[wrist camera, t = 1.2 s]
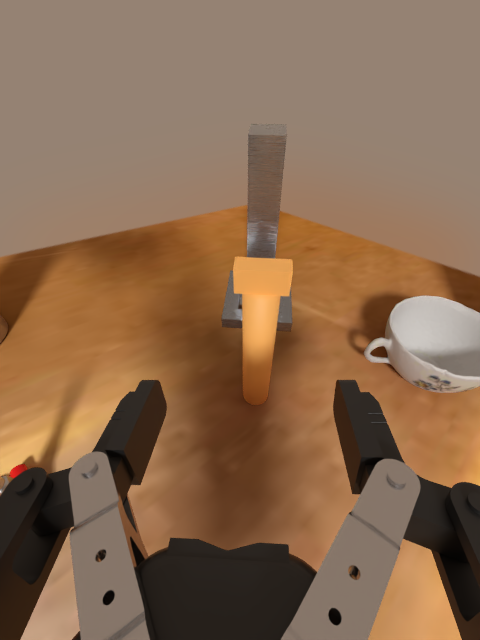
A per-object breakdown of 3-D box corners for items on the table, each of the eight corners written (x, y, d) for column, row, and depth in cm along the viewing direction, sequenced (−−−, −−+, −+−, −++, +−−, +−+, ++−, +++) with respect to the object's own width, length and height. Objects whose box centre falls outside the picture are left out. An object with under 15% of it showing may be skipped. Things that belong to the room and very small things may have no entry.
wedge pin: (236, 403, 36) (231, 276, 21) (239, 380, 38) (236, 250, 23) (272, 406, 35) (293, 279, 21) (273, 383, 38) (291, 253, 23)
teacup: (441, 332, 43) (472, 292, 37) (493, 412, 35) (544, 376, 29) (341, 335, 43) (356, 295, 37) (369, 416, 35) (394, 381, 29)
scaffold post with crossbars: (287, 351, 41) (319, 174, 23) (223, 347, 42) (209, 171, 24) (284, 241, 60) (302, 97, 42) (241, 240, 60) (240, 97, 43)
